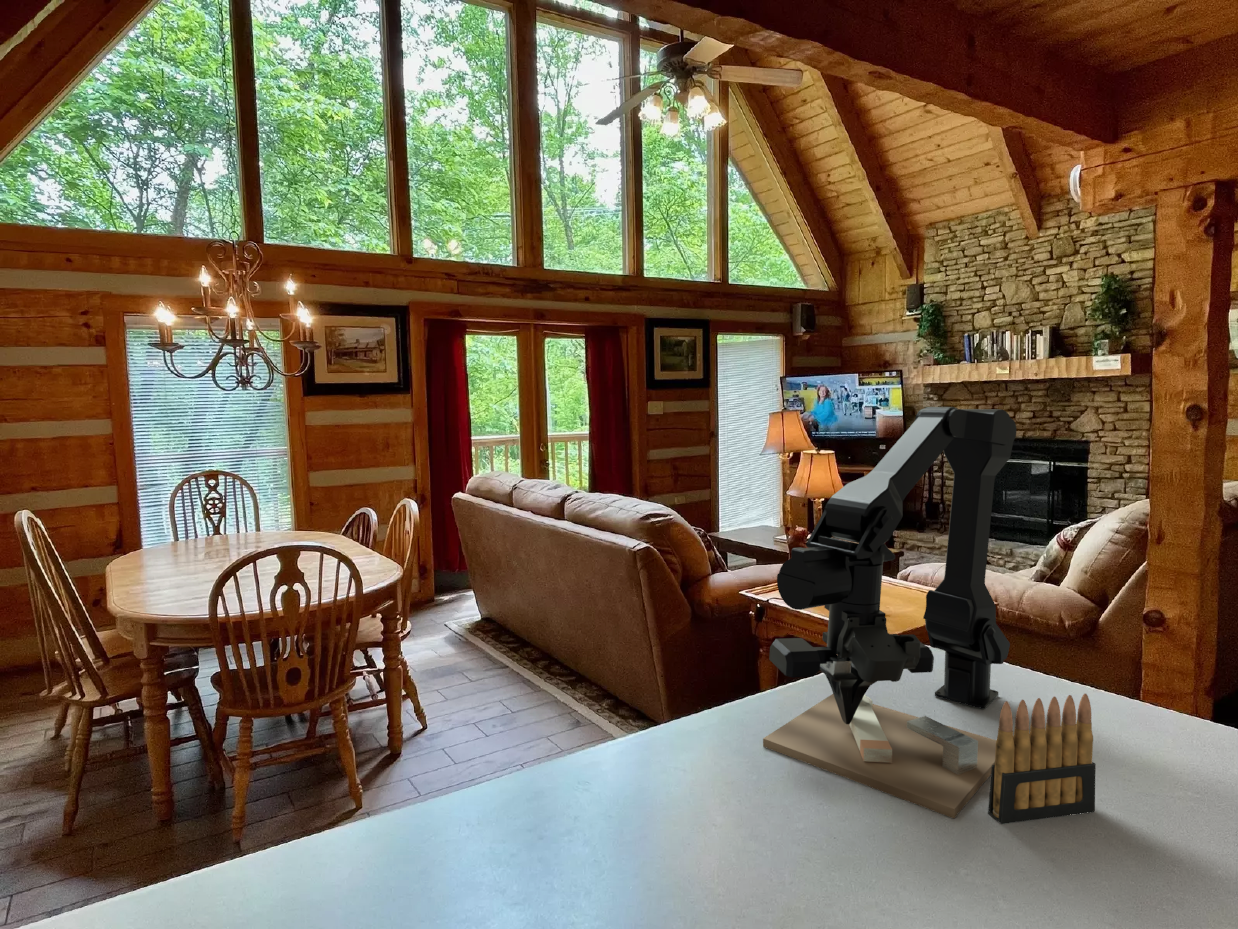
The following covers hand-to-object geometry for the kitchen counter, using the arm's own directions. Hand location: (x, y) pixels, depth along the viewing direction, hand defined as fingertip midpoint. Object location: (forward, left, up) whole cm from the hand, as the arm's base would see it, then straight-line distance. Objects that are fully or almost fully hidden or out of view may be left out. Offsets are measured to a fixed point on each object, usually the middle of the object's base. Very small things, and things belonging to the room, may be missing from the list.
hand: (846, 723), depth 88 cm
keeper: (-1, +11, -1) cm, 11 cm away
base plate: (-1, +5, -2) cm, 5 cm away
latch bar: (-1, +2, -1) cm, 2 cm away
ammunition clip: (+1, +22, -2) cm, 22 cm away
